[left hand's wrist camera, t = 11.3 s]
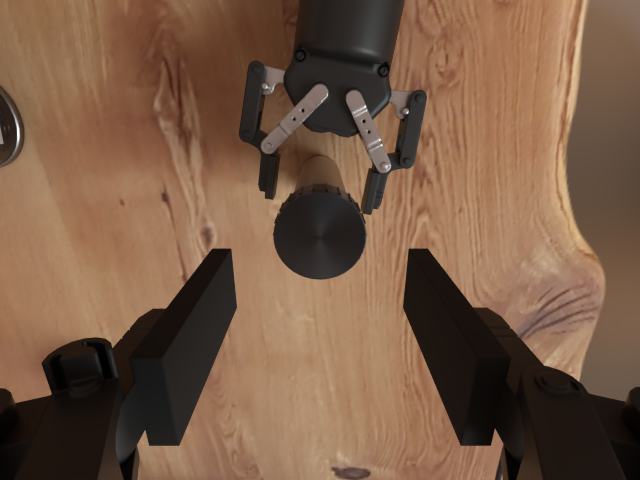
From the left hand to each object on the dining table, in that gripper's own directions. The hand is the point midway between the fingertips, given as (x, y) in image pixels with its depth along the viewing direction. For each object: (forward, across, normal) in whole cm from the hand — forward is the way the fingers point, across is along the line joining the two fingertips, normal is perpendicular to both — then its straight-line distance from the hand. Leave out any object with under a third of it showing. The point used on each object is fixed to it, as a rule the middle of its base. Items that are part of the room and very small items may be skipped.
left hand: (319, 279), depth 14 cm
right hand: (+17, 0, -1) cm, 17 cm away
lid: (+5, 0, 0) cm, 5 cm away
